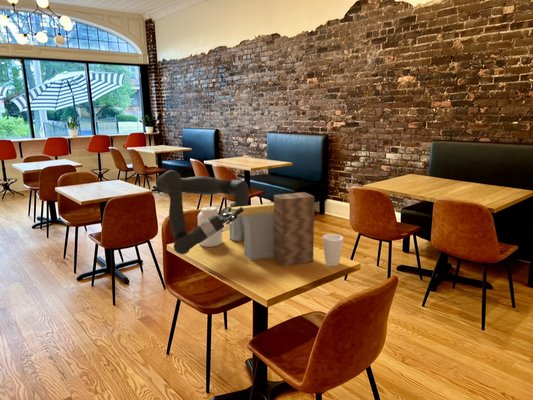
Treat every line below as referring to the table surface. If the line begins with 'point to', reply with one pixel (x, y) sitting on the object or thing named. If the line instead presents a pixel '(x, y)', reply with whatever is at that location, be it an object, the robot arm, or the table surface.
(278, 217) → the stand
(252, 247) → the block
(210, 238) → the white jar
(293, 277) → the table surface
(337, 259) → the foam cup
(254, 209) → the rail
